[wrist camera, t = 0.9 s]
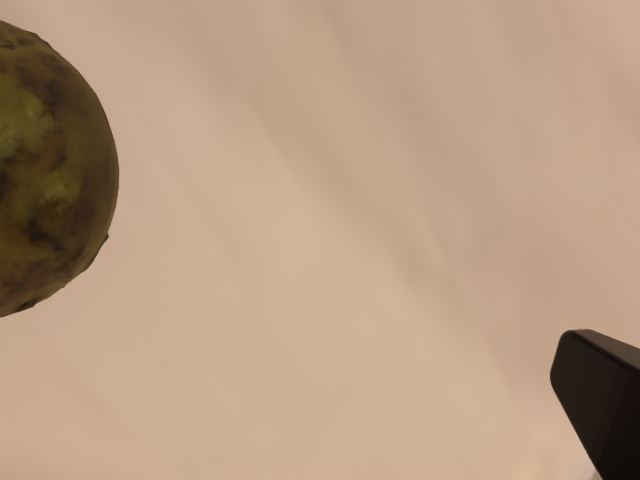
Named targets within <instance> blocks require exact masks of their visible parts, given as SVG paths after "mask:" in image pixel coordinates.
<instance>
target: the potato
mask: <svg viewBox="0 0 640 480" xmlns="http://www.w3.org/2000/svg"><path fill="white" fill-rule="evenodd" d="M118 189H119V163H118V156H117V151H116V146H115V141H114V138H113V135H112V132H111V128H110V125H109V122H108V119H107V117H106V114H105V112H104V109H103V107H102V105H101V103H100V101H99V99H98V97H97V95H96V93H95V92H94V91H93V89H92V88H91V87H90V85H89V84H88V83H87V81H86V80H85V79H84V78H83V76H82V75H81V74H80V73H79V71H78V70H76V69H75V68H74V67H73V66H72V65H71V64H70V63H69V62H68V61H67V60H66V59H64V58H63V57H62V56H61V55H60V54H59V53H58V52H57V51H55V50H54V49H53V48H52V47H51V46H50V45H49V43H48V42H46V41H44V40H42V39H41V38H40V37H39V36H38V35H37V34H35V33H32V32H29V31H25V30H22V29H20V28H18V27H15V26H13V25H11V24H8V23H6V22H4V21H1V20H0V318H1V317H4V316H7V315H10V314H13V313H16V312H20V311H23V310H26V309H28V308H31V307H33V306H34V305H35V304H36V303H38V302H41V301H43V300H45V299H47V298H49V297H50V296H52V295H53V294H54V293H56V292H57V291H58V290H60V289H61V288H64V287H65V285H66V284H68V283H69V282H70V281H72V280H73V279H74V278H75V277H77V276H78V275H79V274H80V273H82V272H84V271H85V270H87V269H88V267H89V266H90V265H91V264H92V263H93V261H94V259H95V257H96V256H97V254H98V252H99V250H100V248H101V247H102V245H103V244H104V242H105V241H106V240H107V239H108V237H109V236H108V230H109V227H110V225H111V222H112V218H113V215H114V211H115V208H116V202H117V196H118Z"/></svg>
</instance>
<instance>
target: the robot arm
mask: <svg viewBox="0 0 640 480" xmlns="http://www.w3.org/2000/svg"><path fill="white" fill-rule="evenodd" d="M550 382H551V385H552V388H553V390H554V392H555V394H556V396H557V397H558V399H559V401H560V403H561V405H562V407H563V409H564V411H565V413H566V414H567V416H568V418H569V420H570V422H571V424H572V426H573V428H574V430H575V431H576V433H577V435H578V437H579V439H580V441H581V443H582V445H583V447H584V448H585V450H586V452H587V454H588V456H589V458H590V460H591V461H592V463H593V465H594V467H595V468H596V470H597V472H598V473H599V475H600V476H601V478H602V480H640V349H639V348H637V347H634V346H631V345H629V344H626V343H624V342H621V341H619V340H616V339H614V338H611V337H609V336H606V335H603V334H601V333H598V332H596V331H593V330H590V329H579V330H568V331H566V332H564V333H563V334H562V336H561V337H560V340H559V343H558V347H557V350H556V353H555V357H554V360H553V364H552V367H551V371H550Z"/></svg>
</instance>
